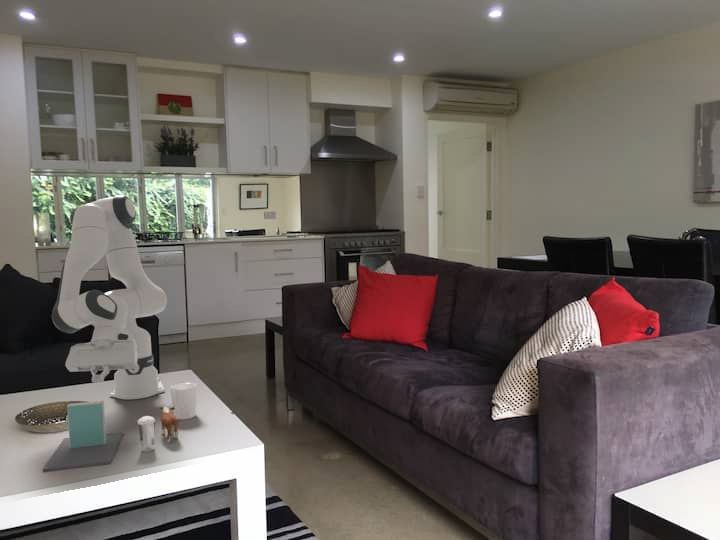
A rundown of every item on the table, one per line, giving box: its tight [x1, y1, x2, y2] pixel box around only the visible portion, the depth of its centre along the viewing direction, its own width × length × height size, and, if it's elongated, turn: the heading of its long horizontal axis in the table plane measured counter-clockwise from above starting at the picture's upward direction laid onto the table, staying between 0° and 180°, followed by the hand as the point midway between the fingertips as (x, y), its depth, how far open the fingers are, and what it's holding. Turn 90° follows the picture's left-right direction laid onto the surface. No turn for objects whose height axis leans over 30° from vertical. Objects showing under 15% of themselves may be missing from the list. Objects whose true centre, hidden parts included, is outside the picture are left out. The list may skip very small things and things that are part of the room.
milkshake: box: [134, 415, 156, 453], centre depth 158 cm, size 5×5×10 cm
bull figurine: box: [159, 403, 180, 444], centre depth 168 cm, size 4×13×8 cm, turn 25°
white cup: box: [170, 382, 197, 421], centre depth 186 cm, size 8×8×10 cm
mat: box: [42, 431, 124, 472], centre depth 159 cm, size 22×16×1 cm
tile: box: [67, 400, 107, 448], centre depth 161 cm, size 2×9×12 cm, turn 104°
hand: (97, 381), depth 172 cm, fingers closed
